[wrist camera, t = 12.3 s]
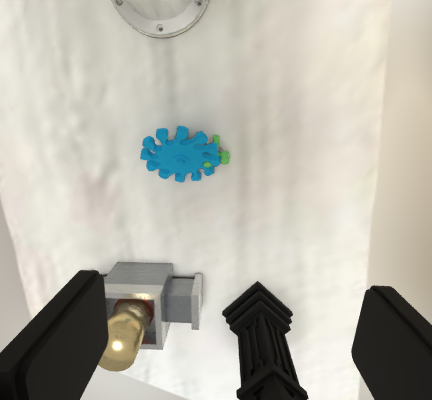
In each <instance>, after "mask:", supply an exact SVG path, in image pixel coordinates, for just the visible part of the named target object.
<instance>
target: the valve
mask: <svg viewBox="0 0 432 400" xmlns="http://www.w3.org/2000/svg"><path fill="white" fill-rule="evenodd" d="M103 277H104V285H105V297H106V309H107V321H108V319H109V317H110V316H111V314H112V312H113V311H114V309H115V307H116V306H117V304H118V303H119V302H120V301H121V300H122V299H142V300H144V301H145V302H146V303H147V304H148V305H149V306H150V308H151V312H152V316H151V319H150V322H149V324H148V327H147V329H146V332H145V335H144V337H143V340H142V342H141V345H140V347H139V349H157V350H163V347H164V343H165V340H166V336H167V333H168V329H169V326H170V322H178V323H192V330H199V324H200V316H201V308H202V274H195V279H177V278H173V276H172V264H167V263H129V262H118V263H117V264H116V265H115V266H114V268H113V269H112V270H111V271H110V272H109V274H108V275H107V276H106V277H105V276H103Z"/></svg>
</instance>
